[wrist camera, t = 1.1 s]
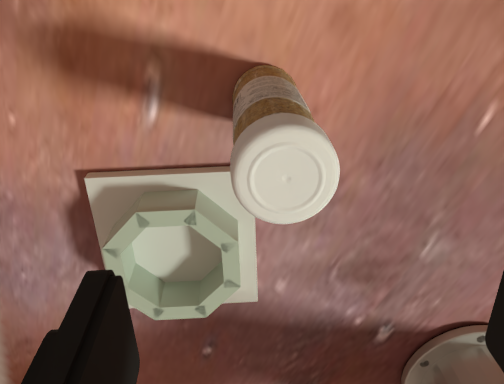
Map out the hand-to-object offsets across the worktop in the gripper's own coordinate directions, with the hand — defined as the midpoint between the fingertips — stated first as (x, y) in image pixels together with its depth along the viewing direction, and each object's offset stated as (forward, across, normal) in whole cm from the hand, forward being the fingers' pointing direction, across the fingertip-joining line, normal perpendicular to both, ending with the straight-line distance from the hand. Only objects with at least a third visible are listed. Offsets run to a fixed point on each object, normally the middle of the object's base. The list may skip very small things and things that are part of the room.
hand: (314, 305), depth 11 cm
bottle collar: (+21, +7, +11) cm, 25 cm away
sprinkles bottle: (+21, 0, 0) cm, 21 cm away
